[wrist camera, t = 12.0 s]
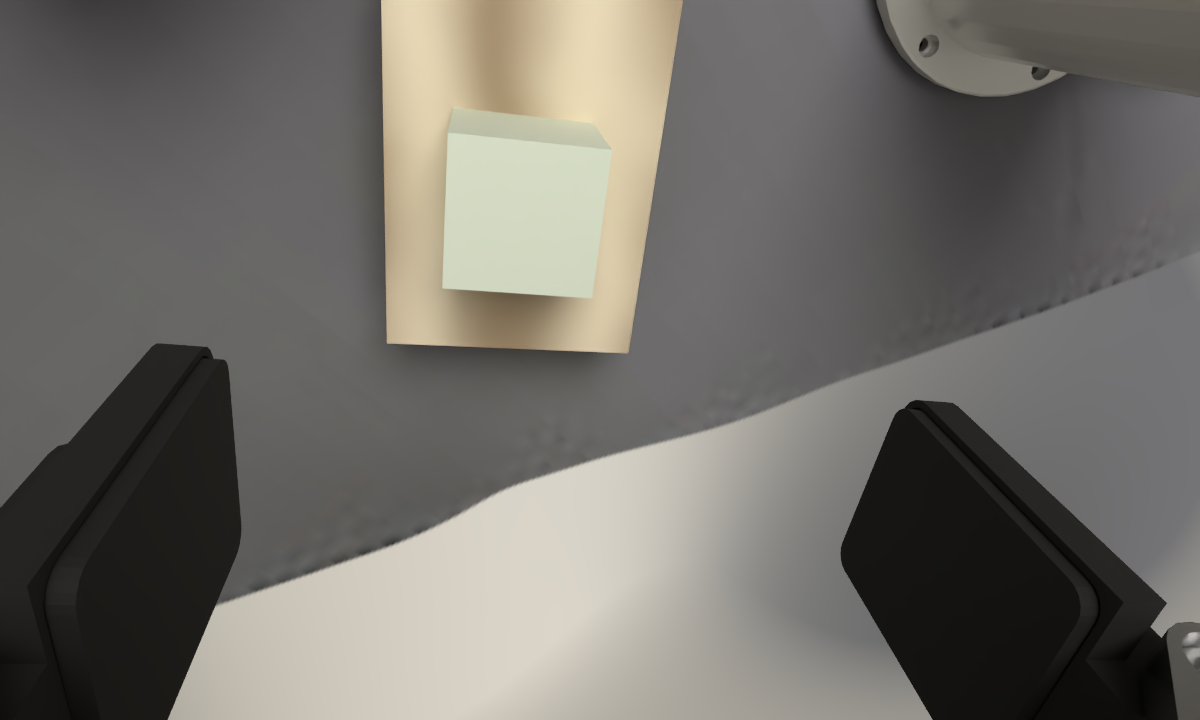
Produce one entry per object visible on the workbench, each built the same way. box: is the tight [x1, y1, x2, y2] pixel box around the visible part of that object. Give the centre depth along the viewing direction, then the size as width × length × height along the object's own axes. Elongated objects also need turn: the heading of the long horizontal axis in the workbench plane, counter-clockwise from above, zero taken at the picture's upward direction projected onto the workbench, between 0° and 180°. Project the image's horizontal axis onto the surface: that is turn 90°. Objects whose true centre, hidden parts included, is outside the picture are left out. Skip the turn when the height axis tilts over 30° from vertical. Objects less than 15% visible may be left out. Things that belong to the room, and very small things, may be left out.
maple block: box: [381, 0, 683, 353], centre depth 29 cm, size 10×14×5 cm
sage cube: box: [442, 107, 612, 298], centre depth 25 cm, size 5×5×4 cm
